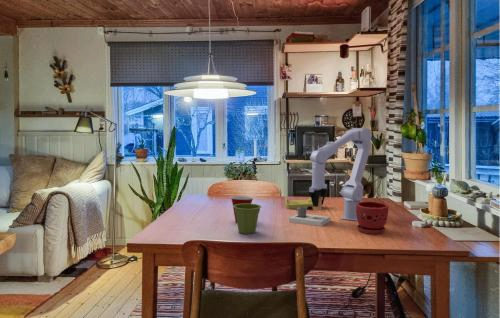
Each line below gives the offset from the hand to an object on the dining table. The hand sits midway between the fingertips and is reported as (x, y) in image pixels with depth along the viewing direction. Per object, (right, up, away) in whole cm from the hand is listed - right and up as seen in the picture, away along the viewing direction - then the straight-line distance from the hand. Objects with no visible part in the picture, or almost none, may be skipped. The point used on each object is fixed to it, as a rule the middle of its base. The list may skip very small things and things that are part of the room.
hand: (317, 205), depth 197 cm
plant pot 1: (-33, -10, -17) cm, 38 cm away
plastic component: (-2, -6, +36) cm, 36 cm away
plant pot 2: (+20, -10, -16) cm, 28 cm away
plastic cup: (-35, -8, +2) cm, 36 cm away
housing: (-3, -8, +3) cm, 9 cm away
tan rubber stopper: (0, -2, +1) cm, 2 cm away
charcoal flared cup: (-7, -8, +5) cm, 11 cm away
